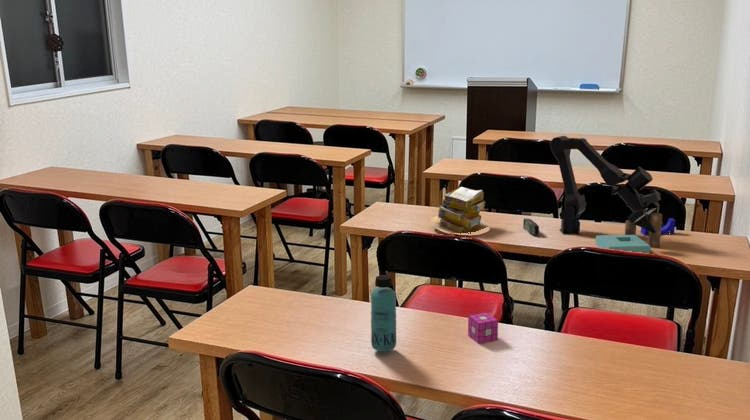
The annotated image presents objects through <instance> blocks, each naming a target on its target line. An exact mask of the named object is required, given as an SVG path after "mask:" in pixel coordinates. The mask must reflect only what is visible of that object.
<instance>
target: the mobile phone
mask: <svg viewBox="0 0 750 420" xmlns="http://www.w3.org/2000/svg"><path fill="white" fill-rule="evenodd" d="M522 225H523V227H522V229H524V230H525V231H526V230H527V231H528V232H527V231H526V232H527V233H529V235H531V236H533V237H535V236H536V237H537V238H539V239H540V238H541V235H540V234H539V233H540V227H539V225H538V223H536V222H535V221H533V220H532V219H530V218H523V224H522Z"/></svg>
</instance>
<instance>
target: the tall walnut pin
mask: <svg viewBox="0 0 750 420" xmlns="http://www.w3.org/2000/svg"><path fill="white" fill-rule="evenodd" d="M649 221H650V223H651V224H652V226H653V227H654V229H655V230H656V232H655V233H652V232H650V231H649V235H648V243H647V244H648V245H650V249H651V248H652V249H659V248H661V247H660V246H661V236H662V234H661V225H662V223H663V214H662V213H659V212H658V213H651V216H650V220H649Z"/></svg>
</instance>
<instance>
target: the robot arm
mask: <svg viewBox="0 0 750 420" xmlns="http://www.w3.org/2000/svg"><path fill="white" fill-rule="evenodd" d="M549 147H550V149H551V152H552V154H553V156H554V157H555V159H556V160H557V163H558V167H559V170H560V175H561V178H562V183H563V187H564V192H565V200H564V208H565V209H563V210H562V211H561V212H560V213H559V218H560V223H561V225H560V228H559V232H561V233H562V234H563V235H580V234H581V232H580V231H581V230H580V229H581V221H580V216H581V214H583V212H585V210H586V207H587V204H588V203H587V202H586V196H585V194H582V195H581V193H580V192H579V190H578V186H577V182H576V178H575V174H574V169H573V165H572V161H571V150H576V149H577V150H578V151H579V152H580V153H581V154H582V155H583V156H584V157H585V158H586V159H587V160H588V161H589V162H590V163H591V164H592V165H593V166H594V167H595V168H596V169H597V171H598V172H599V175H600V177H601V178H602V180H603V182H605V184H606V185H607V186H610V187H612V188H611V196H614V195H618V196H619V197H620V198H621V199H622V201H624V203H625V205H624V206H626V208H629V209H630V210H631V211H632V213H631V214H630V215H629V216H627V220H628V221H629V222H630V223H631V224H632V223H634V222H635V221H636V222H635V223H634V225H636V227H637V226H638V227H640V228H641V227H642V228H644V229H646V230H648V231H650V232H652V233H655V232H656V230H655V229H654V227H653V226H652V224H651V223H650V216H651V213H659V210H660V203H659V201H661V200H662V199H661V195H662V194H661V193H660V192H659V191H657V190H656V189H653V190H650V192H649V194H645V195H644V194H643V193H639V192H638V191H637V190H642V189H643V188H644V187H646V186H647V185H648V184H650V183H651V182H652V181H653V179H654V178H653V177H652V175H651V174H650V172H649V171H647V170H645V169H644V168H642V167H641V166H638V167H637V168H635V170H634V171H632V173H631V174H630V173H625V172H624V171H623V170H621V169H620V168H618V166H616V165H614V164H612V163H610V162H608V161H607V160H606V159H605V158H604V157H603V156H602V155H601V154H600V153H599V152H598V151H597V150H596V149H595V148H594V147H593V146H592V145H591V144H590V143H589V142H588V140H587V139H586V138H584V137H580V138H578V137H568V136H565V135H560V136H556V137H555V136H554V138H552V139H551V140H550V142H549ZM617 185H618V186H617ZM614 186H617V187H614ZM664 226H665V225H664V222H662V225H661V228H663V227H664Z"/></svg>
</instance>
